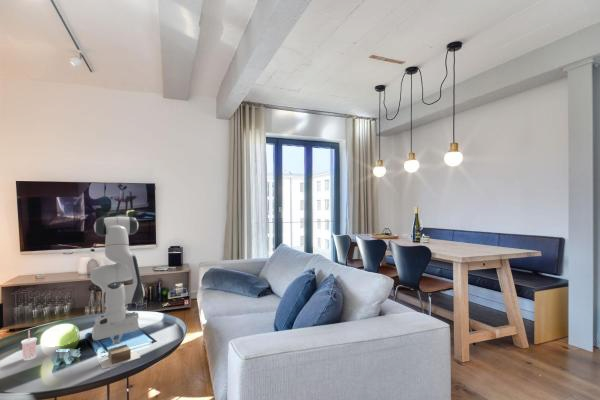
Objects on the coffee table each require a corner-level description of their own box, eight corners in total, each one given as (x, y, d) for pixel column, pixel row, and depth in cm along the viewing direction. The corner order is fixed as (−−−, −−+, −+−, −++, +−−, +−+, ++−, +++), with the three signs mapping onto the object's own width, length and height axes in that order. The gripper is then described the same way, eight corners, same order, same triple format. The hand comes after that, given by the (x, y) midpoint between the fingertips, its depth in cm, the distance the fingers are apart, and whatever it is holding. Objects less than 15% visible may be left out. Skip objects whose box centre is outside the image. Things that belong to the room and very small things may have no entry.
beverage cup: (18, 361, 159) (17, 332, 159) (26, 356, 165) (25, 328, 165) (32, 360, 160) (32, 331, 160) (40, 354, 166) (39, 327, 166)
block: (108, 349, 159) (111, 354, 153) (126, 344, 164) (130, 349, 158) (108, 358, 159) (111, 364, 153) (126, 353, 164) (130, 358, 158)
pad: (99, 362, 156) (99, 361, 156) (135, 351, 167) (135, 351, 167) (102, 369, 149) (102, 368, 149) (140, 357, 160) (140, 357, 160)
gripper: (136, 309, 172) (137, 335, 172) (91, 319, 159) (91, 347, 159) (140, 312, 168) (140, 339, 168) (93, 322, 154) (94, 352, 154)
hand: (116, 343), depth 163 cm, fingers closed
